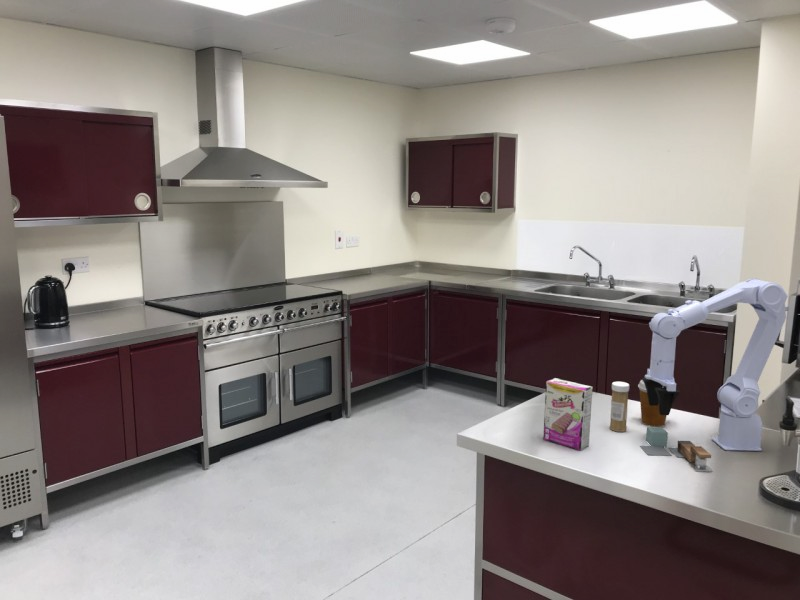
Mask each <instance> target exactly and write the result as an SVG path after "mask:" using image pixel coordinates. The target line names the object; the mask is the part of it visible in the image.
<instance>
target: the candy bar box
mask: <svg viewBox="0 0 800 600" xmlns="http://www.w3.org/2000/svg"><path fill="white" fill-rule="evenodd" d="M592 401H593V386H591V385H586V384H582V383H578V382H573V381H569V380H565V379H561V378H558V377H557V378H556V377H554V378H551V379H549V380H547V381H546V382H545V399H544V403H545V404H544V419H543V438H542V439H543V440H545V441H548V442H551V443H554V444H557V445H559V446H560V445H561V446H564V447H566V448H567V447H568V448H571V449H573V450H577V451H580V452H581V451H583V450H584V449H586V448H588V447H589V446H590V434H591V433H590V432H591V417H592Z"/></svg>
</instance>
